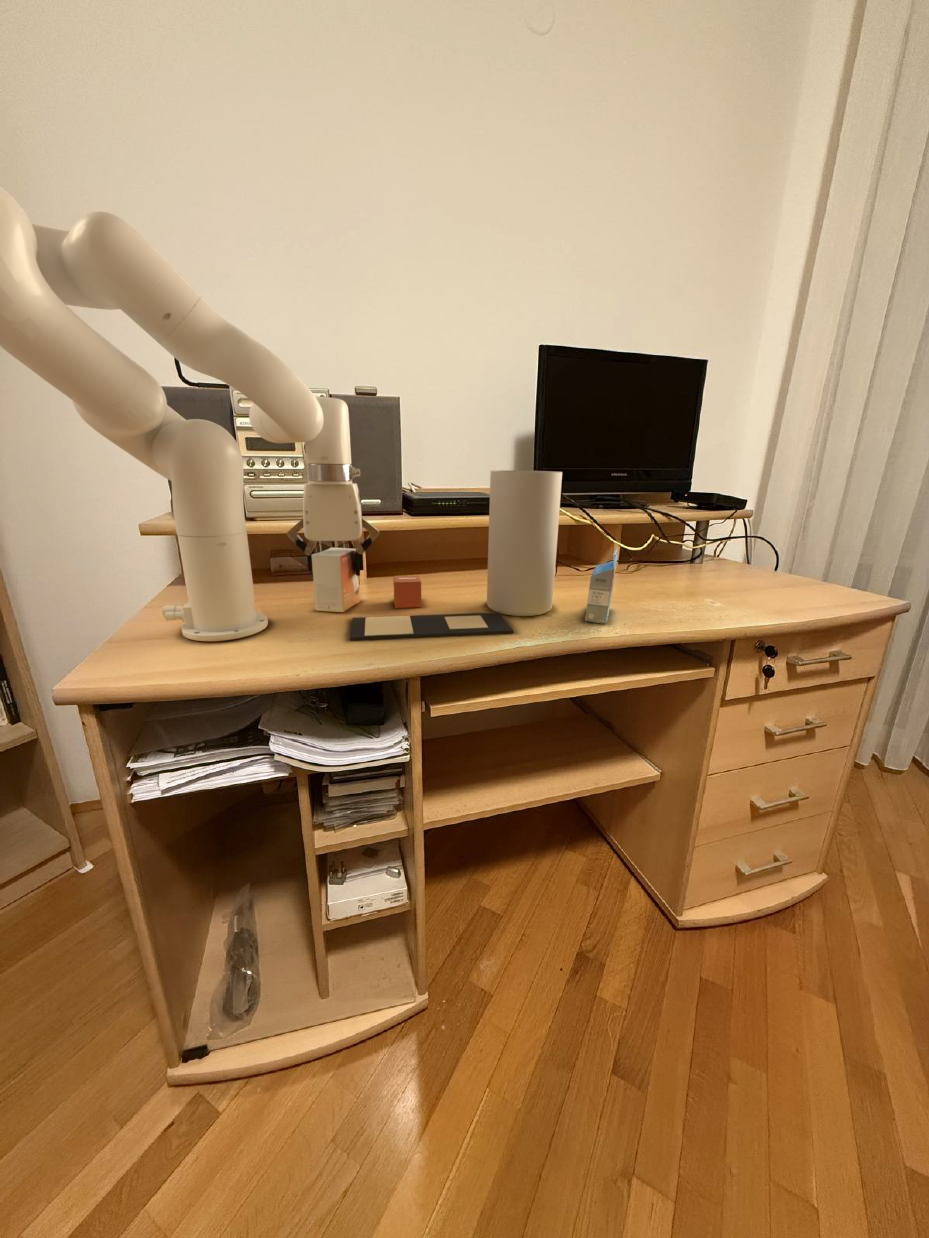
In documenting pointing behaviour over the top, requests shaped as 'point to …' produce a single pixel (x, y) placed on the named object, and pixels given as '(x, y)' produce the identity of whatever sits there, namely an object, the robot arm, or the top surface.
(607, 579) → the label tape box
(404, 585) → the red block
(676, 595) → the top surface
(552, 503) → the cylinder vase
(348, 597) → the small box
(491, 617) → the mat
